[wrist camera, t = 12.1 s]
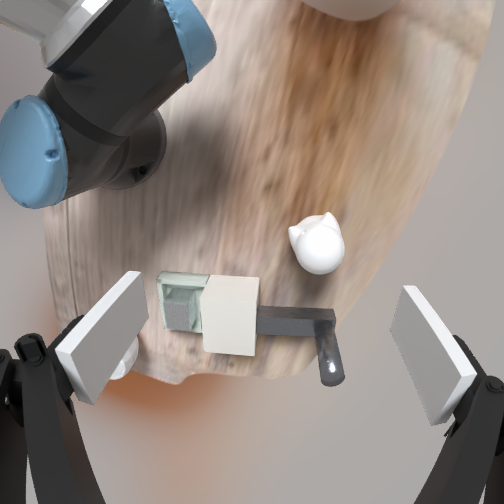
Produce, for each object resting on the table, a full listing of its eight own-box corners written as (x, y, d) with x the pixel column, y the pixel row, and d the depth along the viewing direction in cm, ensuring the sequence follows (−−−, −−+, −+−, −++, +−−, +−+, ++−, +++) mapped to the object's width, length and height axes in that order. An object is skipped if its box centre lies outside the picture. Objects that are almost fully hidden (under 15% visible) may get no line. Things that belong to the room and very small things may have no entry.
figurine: (327, 201, 42) (344, 224, 31) (343, 246, 45) (362, 281, 34) (283, 218, 44) (284, 247, 33) (301, 262, 46) (307, 302, 35)
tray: (168, 319, 53) (163, 328, 50) (162, 271, 49) (156, 278, 46) (212, 324, 52) (209, 333, 50) (209, 274, 48) (205, 282, 46)
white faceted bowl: (88, 300, 53) (63, 326, 44) (140, 305, 52) (117, 336, 43) (104, 347, 58) (84, 375, 49) (152, 355, 57) (135, 387, 48)
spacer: (197, 314, 51) (175, 312, 51) (195, 289, 49) (172, 287, 49) (190, 331, 46) (166, 328, 46) (187, 304, 44) (162, 302, 45)
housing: (213, 324, 52) (204, 351, 45) (210, 274, 48) (199, 298, 41) (257, 328, 52) (254, 356, 45) (259, 277, 48) (256, 302, 41)
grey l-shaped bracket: (205, 318, 48) (183, 377, 35) (204, 301, 47) (180, 359, 34) (330, 325, 47) (343, 386, 34) (333, 308, 46) (348, 369, 33)
